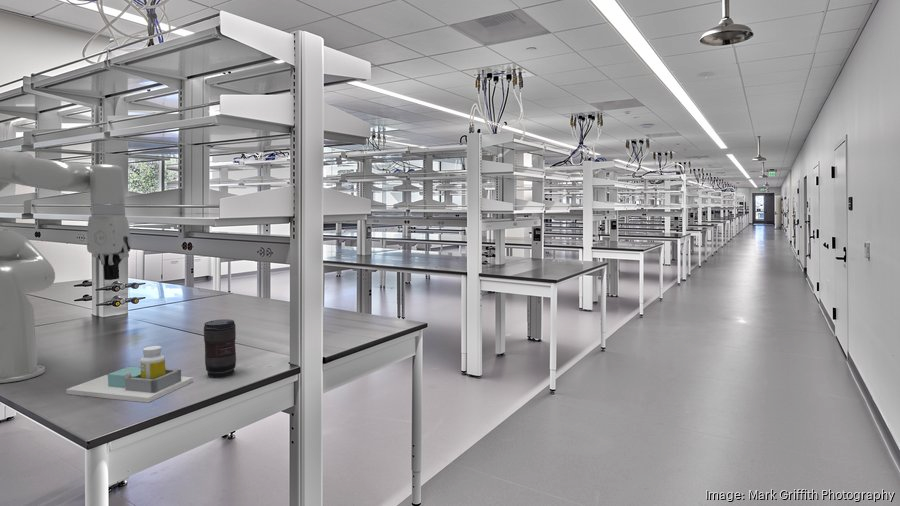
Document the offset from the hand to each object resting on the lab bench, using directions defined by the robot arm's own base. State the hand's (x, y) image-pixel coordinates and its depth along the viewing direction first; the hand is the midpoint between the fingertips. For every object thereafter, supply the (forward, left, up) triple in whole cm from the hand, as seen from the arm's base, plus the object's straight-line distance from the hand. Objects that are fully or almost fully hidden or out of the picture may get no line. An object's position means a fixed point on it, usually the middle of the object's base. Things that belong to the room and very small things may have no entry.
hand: (111, 279), depth 136 cm
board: (+11, -6, -27) cm, 30 cm away
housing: (+11, -6, -26) cm, 29 cm away
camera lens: (+26, +9, -27) cm, 39 cm away
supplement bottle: (+18, -6, -26) cm, 32 cm away
